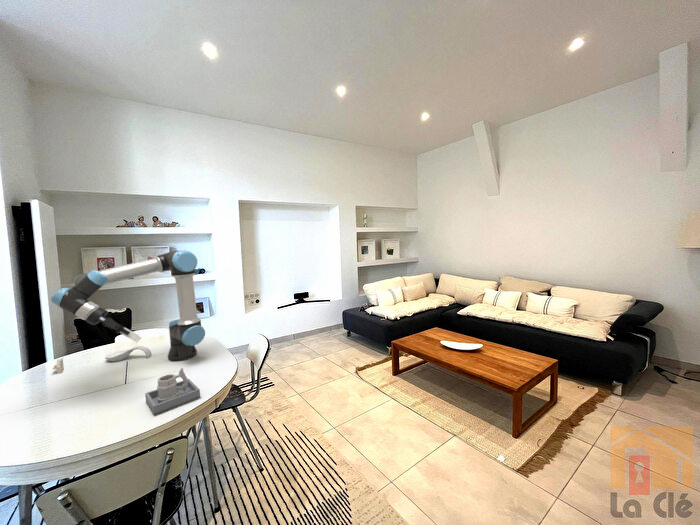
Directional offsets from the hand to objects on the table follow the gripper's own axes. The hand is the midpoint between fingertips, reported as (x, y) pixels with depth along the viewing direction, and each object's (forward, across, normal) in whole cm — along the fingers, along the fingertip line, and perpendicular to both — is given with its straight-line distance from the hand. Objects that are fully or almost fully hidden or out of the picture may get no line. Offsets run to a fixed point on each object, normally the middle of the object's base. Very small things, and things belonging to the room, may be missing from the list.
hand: (138, 339), depth 130 cm
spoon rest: (-3, -58, -11) cm, 59 cm away
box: (+29, +10, -14) cm, 34 cm away
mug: (+29, +11, -13) cm, 33 cm away
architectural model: (-25, -58, -31) cm, 70 cm away
